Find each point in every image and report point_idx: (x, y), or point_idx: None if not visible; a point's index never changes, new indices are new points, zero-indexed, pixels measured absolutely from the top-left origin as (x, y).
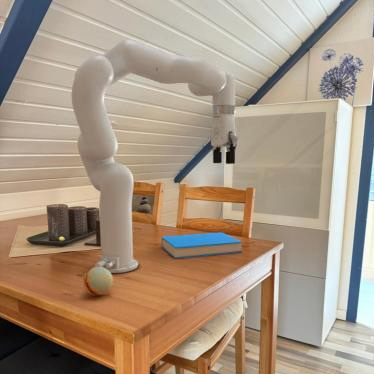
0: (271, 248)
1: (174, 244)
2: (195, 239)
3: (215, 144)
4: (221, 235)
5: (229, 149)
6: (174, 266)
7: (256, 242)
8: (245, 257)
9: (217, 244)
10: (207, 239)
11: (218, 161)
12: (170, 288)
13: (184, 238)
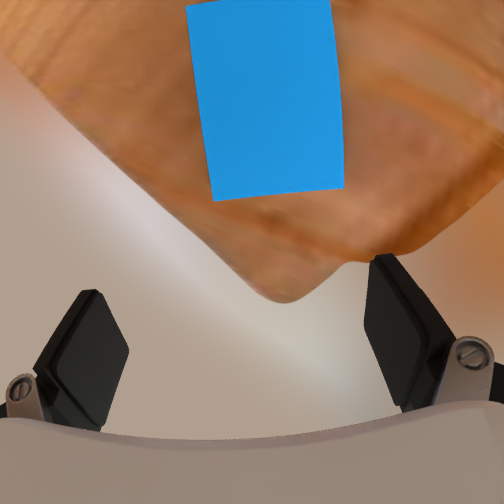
0: (238, 272)
1: (220, 7)
2: (270, 76)
3: (232, 467)
4: (304, 171)
5: (13, 396)
6: (132, 11)
7: (302, 263)
8: (170, 185)
9: (202, 125)
10: (261, 111)
11: (370, 308)
12: (31, 20)
13: (291, 48)
